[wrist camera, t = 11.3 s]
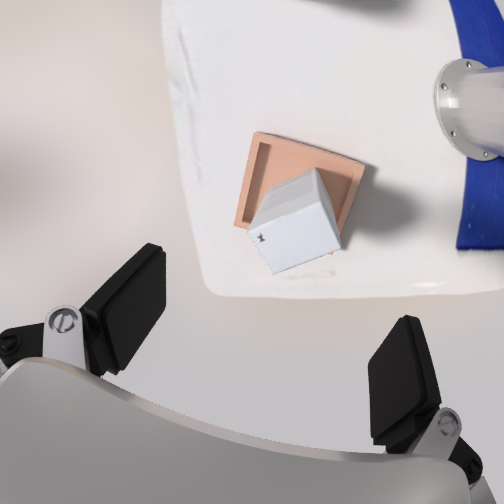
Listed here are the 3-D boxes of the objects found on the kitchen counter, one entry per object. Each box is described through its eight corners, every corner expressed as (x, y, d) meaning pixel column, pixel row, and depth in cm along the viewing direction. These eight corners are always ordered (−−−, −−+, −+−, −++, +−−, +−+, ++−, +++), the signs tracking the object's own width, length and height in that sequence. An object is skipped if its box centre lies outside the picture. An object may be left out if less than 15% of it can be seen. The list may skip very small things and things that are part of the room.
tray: (361, 162, 27) (365, 166, 26) (331, 246, 33) (332, 254, 31) (257, 131, 28) (253, 132, 27) (237, 219, 34) (233, 225, 32)
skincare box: (285, 219, 32) (270, 277, 22) (267, 187, 30) (243, 231, 20) (333, 199, 29) (343, 250, 19) (317, 165, 28) (320, 198, 18)
